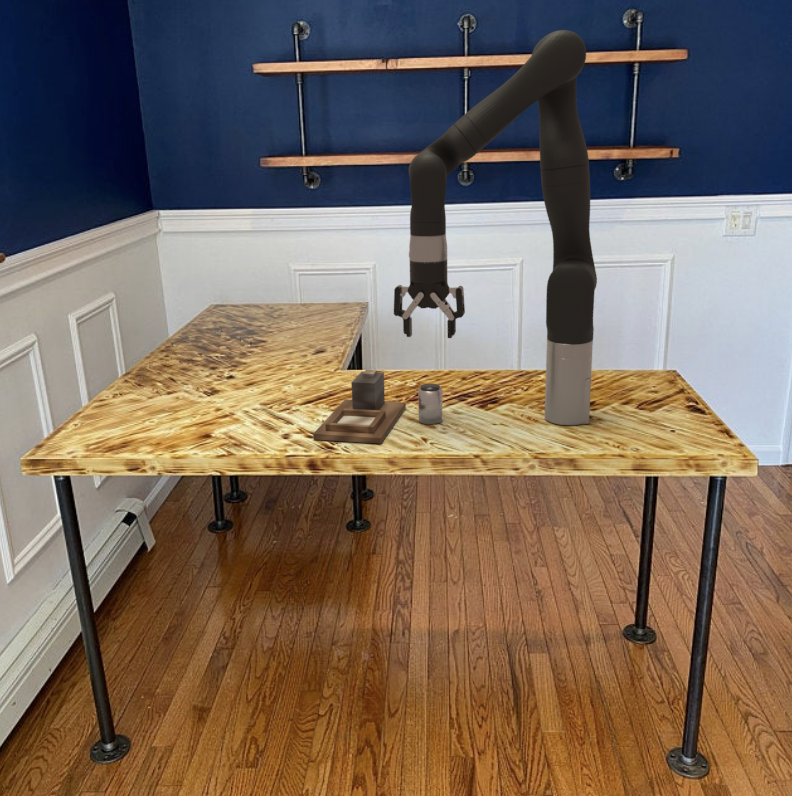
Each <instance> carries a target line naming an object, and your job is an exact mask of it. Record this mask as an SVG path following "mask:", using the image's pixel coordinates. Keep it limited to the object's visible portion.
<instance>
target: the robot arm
mask: <svg viewBox="0 0 792 796" xmlns="http://www.w3.org/2000/svg"><path fill="white" fill-rule="evenodd" d="M586 59H587V48H586V45H585V42H584V40H583V39H582V37H580V35H578V34H577V33H576V32H574V31H571V30H566V29H559V30H555V31H554V30H553V31H552V32H550V33H548V34H547V35H545V36H544V37H543V38H541V39H540V40H539V41H538V42H537V43H536V44H535V46H534V48H533V51H532V53H531V56H530V57H528V60H527V61H525V63H524V64H523V65H522V66H521V67H520V68H518V70H517V71H516V72H515V73H514V74H513V75H512V76H511V77H510V78H508V80H506V81H505V82H504V83H503V84H502V85H500V87H498V88H496V89H495V90H494V91H493V92H491V93H490V94H489V95H487V96H486V97H485V98H483V99H482V100H481V101H480V102H478V103H477V104H475V105H474V106H473V107H472V108H470V109H469V110H468V111H467V112H466V113H464V115H462V116H461V117H460V118H458V120H456V121H455V122H454V123H453V124H452V125H451V126H450V127H448V129H447V130H446V131H445V132H444V133H443V134H442V135H441V136H440V137H439V138H437V139H436V140H434V141H433V142H432V143H431V144H429V145H427V147H425V148H424V149H422V150H421V151H420V152H419V153H418V154H417V155H416V156H414V157H413V159H412V160H411V162H410V163H409V166H408V177H409V185H410V200H411V201H410V202H411V203H410V204H411V206H410V207H411V208H410V213H409V229H410V230H409V234H410V238H409V246H408V247H409V250H408V257H409V286H403V285H401V284H398V285H397V286H395V288H394V289H393V291H394V293H393V295H394V296H393V315H394V316H396V317H400V318H402V324H403V325H402V327H403V328H402V329H403V333H404V335H406V337H407V338H411V337H412V336H413V320H412V318H413V317H411V315H412V313H413V312H414V311H415V310H416V309H417V307H418V308H420V309H428V308H429V309H435V310H436V309H438V308H439V309H440V310H441V312H442V313H443V314H444V315H445V317H446V318H447V339H452V338H453V337H454V336H455V334H456V332H457V322H456V320H457V319H459V318H462V317H464V315H465V314H466V310H465V306H466V305H465V293H464V291H465V290H464V286H462V285H459V286H458V287H455V286H454V287H450V286H449V284H448V283H449V282H448V243H447V241H448V240H447V232H446V231H447V229H446V228H447V223H446V222H447V221H446V219H447V218H446V216H447V215H446V208H445V206H446V197H447V196H446V195H447V179H448V178H447V177H448V176H449V175H450V174H451V173H453V171H454V170H456V169H457V168H458V167H460V165H461V164H463V163H465V162H467V161H469V160H470V159H472V158H473V157H475V156H476V155H477V154H478V153H480V151H482V150H483V149H484V148H485V147H486V146H488V145H489V144H490V143H491V142H492V141H493V140H494V139H495V138H497V137H498V136H499V135H500V134H501V133H502V132H503V131H504V130H505V129H506V128H507V127H508V126H510V124H512V123H513V122H514V121H515V120H517V118H518V117H519V116H520V115H521V114H523V113H524V112H525V111H526V110H527V109H528V108H530V107H531V106H532V105H533V104H535V103H536V102H537V107H538V115H539V165H540V166H539V167H540V168H539V169H540V179H541V180H540V181H541V190H542V191H541V193H542V197H543V202H544V203H543V204H544V206H545V210H546V215H547V218H548V221H549V225H550V229H551V233H552V242H553V243H552V244H553V245H552V250H553V253H552V254H553V256H552V257H553V258H552V259H553V261H552V271H551V273H550V274H549V276H548V279H547V284H546V301H545V302H546V305H545V307H546V308H545V309H546V311H545V313H546V315H545V325H546V355H545V356H546V363H545V388H544V389H545V396H544V419H545V420H546V421H547V422H549V423H552V424H555V425H561V426H578V425H584V424H585V425H589V424H590V409H591V391H592V390H591V389H592V387H591V386H592V370H593V369H592V365H593V349H594V348H593V346H594V343H593V342H594V331H595V330H594V329H595V328H594V309H595V306H594V305H595V291H596V288H597V283H598V277H597V272H596V266H595V262H594V254H593V250H592V244H591V243H592V242H591V236H590V235H591V234H590V233H591V231H590V221H591V219H590V218H591V179H590V174H591V173H590V160H589V153H588V148H587V144H586V143H587V142H586V139H585V136H584V132H583V128H582V125H581V122H580V118H579V113H578V103H577V102H578V101H577V79H578V78H577V77H578V76H579V74H580V73H581V72H582V70H583V69H584V66H585V64H586ZM407 293H408V295H409V296H410V298H411V299H412V302H411V303H410V304H409V305H408V307H407V309H406V310H404V309H403V299H404V297H405V296H406V295H407ZM449 294H451V295H452V296H451V297H452V298H453V299H455V303H456V305H455V306H456V311H455V310H454V309H453V308H452V306H451V304H450V302H448V300H447V299H446V298H447V297H448V296H449Z"/></svg>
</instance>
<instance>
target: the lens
mask: <svg viewBox="0 0 792 796" xmlns="http://www.w3.org/2000/svg"><path fill="white" fill-rule="evenodd" d="M417 389H418V392H417V393H418V400H417V401H418V422H419V423H421V424H423V425H424V424H425V425H436V424H440V423H442V422H443V387H442V386H440V385H439V384H437V383H424V384H421V385H420V387H418V388H417Z"/></svg>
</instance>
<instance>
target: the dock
mask: <svg viewBox="0 0 792 796" xmlns="http://www.w3.org/2000/svg"><path fill="white" fill-rule="evenodd" d="M385 395H386V394H385V373H384V371H383V372H380V371H379V372H378V370H377V369H365V370H364V371H360V373H359V374H358V375H357V376H356V377H355V378H354V379H353V380H352V381H351V399H348V398H347V399H344V400H343V401H342V402H341V403H340V404H339V405H338V406H337V407H336V408H335V409H334V411H333V412H332V413H331V414H330V415H329V416H328V417H327V418H326V419H325V420H324V422H322V423H321V425H319V427H318V428H317V429H316V430H315V431H314V432H313V433H312V437H313V440H317V441H319V440H320V441H333V442H335V441H337V442H348V443H349V442H350V443H365V444H366V443H367V444H382V443H383V442H384V440H385V438H386V437H387V436H388V434H389V433H390V431H391V430H392V428H393V427H394V426H395V424H396V423H397V421H398V419H400V417H401V415H402V414H403V412H404V411H405V409H406V408H407V405H406V402H405V401H403V402H402V401H387V400H385V398H386V397H385Z"/></svg>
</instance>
